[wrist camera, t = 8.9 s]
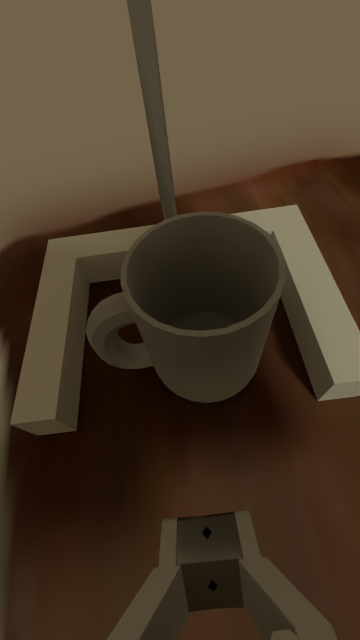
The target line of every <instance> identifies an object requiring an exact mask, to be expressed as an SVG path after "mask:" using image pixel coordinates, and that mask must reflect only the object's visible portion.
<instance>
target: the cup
mask: <svg viewBox="0 0 360 640" xmlns="http://www.w3.org/2000/svg"><path fill="white" fill-rule="evenodd" d="M285 280H286V264H285V259H284V257H283V254H282V252H281V249H280V247H279V245H278V244H277V243H276V242H275V240H274V239H273V238H272V237H271V236H270V234H269V233H268V232H266V231H265V230H263V229H262V228H261V227H259V226H258V225H256V224H255V223H253V222H251V221H248V220H246V219H243V218H241V217H239V216H235V215H230V214H226V213H221V212H195V213H188V214H181V215H178V216H175V217H172V218H169V219H166V220H164V221H162V222H160V223H158V224H156V225H155V226H153V227H151V228H149V229H148V230H147V231H145V232H144V233H143V234H142V235H141V236H140V237H139V238H137V239H136V240H135V242H134V243H133V244H132V246H131V247H130V249H129V250H128V251H127V253H126V255H125V258H124V261H123V264H122V267H121V287H122V290H123V292H120V293H117V294H114V295H112V296H110V297H108V298H106V299H104V300H102V301H100V302H99V304H98V305H97V306H96V307H95V308H94V309H93V310H92V312H91V314H90V316H89V319H88V322H87V327H86V334H87V338H88V341H89V343H90V344H91V346H92V348H93V349H94V351H95V352H96V353H97V355H98V356H99V357H100V358H101V359H102V360H103V361H105V362H106V363H108V364H109V365H112V366H115V367H118V368H124V369H139V368H146V367H150V366H154V368H155V370H156V372H157V374H158V376H159V377H160V379H161V380H162V381H163V383H164V384H165V385H166V387H167V388H169V389H170V390H171V391H173V392H174V393H175V394H176V395H178V396H180V397H183V398H185V399H187V400H190V401H194V402H202V403H210V402H218V401H222V400H225V399H227V398H230V397H232V396H234V395H236V394H237V393H238V392H240V391H241V390H242V389H243V388H245V387H246V386H247V384H248V383H249V382H250V380H251V379H252V377H253V376H254V374H255V372H256V370H257V367H258V364H259V361H260V358H261V355H262V352H263V348H264V345H265V342H266V339H267V336H268V333H269V330H270V327H271V324H272V321H273V317H274V314H275V311H276V308H277V305H278V302H279V299H280V296H281V293H282V289H283V286H284V283H285ZM133 323H136V325H137V327H138V329H139V332H140V334H141V337H142V339H143V342H144V343H140V344H131V343H127V342H125V341H124V340H122V339H121V338H120V337H119V335H118V330H119V329H120V328H122V327H124V326H126V325H130V324H133Z"/></svg>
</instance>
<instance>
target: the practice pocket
mask: <svg viewBox="0 0 360 640" xmlns="http://www.w3.org/2000/svg"><path fill="white" fill-rule="evenodd" d="M127 6H128V11H129V17H130V23H131V29H132V35H133V40H134V47H135V53H136V58H137V64H138V70H139V76H140V82H141V88H142V94H143V100H144V105H145V112H146V117H147V123H148V129H149V135H150V141H151V147H152V153H153V159H154V165H155V171H156V177H157V182H158V188H159V194H160V200H161V206H162V212H163V218H164V220H166V219H169V218H172V217H175V216H177V212H176V203H175V195H174V187H173V179H172V171H171V163H170V154H169V146H168V138H167V130H166V121H165V114H164V105H163V97H162V89H161V80H160V72H159V64H158V56H157V48H156V39H155V31H154V23H153V15H152V6H151V0H127ZM230 215H235V216H239V217H241V218H243V219H246V220H248V221H251V222H253V223H255V224H256V225H258V226H259V227H261V228H262V229H263V230H265V231H266V232H268V233H269V234H270V236H271V237H272V238H273V239H274V240H275V242H276V243H277V244H278V245H279V247H280V249H281V252H282V254H283V257H284V259H285V264H286V280H285V283H284V286H283V289H282V293H281V299H282V302H283V305H284V307H285V310H286V313H287V316H288V319H289V322H290V324H291V327H292V330H293V333H294V336H295V339H296V341H297V344H298V347H299V350H300V353H301V356H302V359H303V361H304V364H305V367H306V370H307V373H308V376H309V378H310V381H311V384H312V387H313V390H314V393H315V395H316V398H317V401H323V400H331V399H339V398H347V397H355V396H360V331H359V329H358V327H357V325H356V323H355V321H354V319H353V317H352V315H351V313H350V311H349V309H348V307H347V305H346V303H345V301H344V299H343V297H342V295H341V293H340V291H339V289H338V287H337V285H336V283H335V281H334V279H333V277H332V275H331V273H330V271H329V269H328V267H327V265H326V263H325V261H324V259H323V257H322V254H321V252H320V250H319V248H318V246H317V244H316V242H315V240H314V238H313V236H312V234H311V232H310V230H309V228H308V226H307V224H306V222H305V220H304V218H303V216H302V214H301V212H300V210H299V208H298V206H297V205H291V206H284V207H277V208H270V209H263V210H256V211H249V212H242V213H235V214H230ZM153 226H155V225H149V226H142V227H135V228H128V229H121V230H114V231H107V232H100V233H92V234H85V235H78V236H71V237H64V238H57V239H50V240H48V245H47V249H46V254H45V259H44V264H43V269H42V273H41V278H40V283H39V288H38V292H37V297H36V302H35V307H34V312H33V316H32V321H31V326H30V331H29V335H28V340H27V345H26V350H25V355H24V359H23V364H22V369H21V374H20V378H19V383H18V388H17V393H16V398H15V402H14V407H13V412H12V417H11V421H10V425H13V426H15V427H18V428H20V429H22V430H25V431H27V432H30V433H32V434H35V435H37V436H38V435H46V434H55V433H63V432H71V431H77V421H78V410H79V399H80V388H81V377H82V366H83V354H84V343H85V332H86V321H87V310H88V299H89V287H90V283H94V282H101V281H109V280H116V279H121V267H122V264H123V261H124V258H125V255H126V253H127V251H128V250H129V249H130V247H131V246H132V244H133V243H134V242H135V240H136V239H137V238H139V237H140V236H141V235H142V234H143V233H144V232H145V231H147V230H148V229H149V228H151V227H153Z"/></svg>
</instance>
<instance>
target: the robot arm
mask: <svg viewBox="0 0 360 640" xmlns="http://www.w3.org/2000/svg"><path fill="white" fill-rule="evenodd" d="M239 607H244V610H245V611H246V613H247V614H248V616H249V617H250V619H251V620H252V622H253V623H254V625H255V626H256V628H257V629H258V631H259V632H260V634H261V635H262V637H263V638H264V640H337V638H336V635H335V633H334V630H333V628H332V625H331V624H330V623H329V622H328V621H327V620H326V619H325V617H324V616H323V615H322V614H321V613H320V612H319V611H318V610H317V609H316V608H315V607H314V606H313V605H312V604H311V603H310V602H309V601H308V600H307V599H306V598H305V597H304V596H303V595H302V594H301V593H300V592H299V591H298V590H297V588H296V587H295V586H294V585H293V584H292V583H291V582H290V581H289V580H288V579H287V578H286V577H285V576H284V575H283V574H282V573H281V572H280V571H279V570H278V569H277V568H276V567H275V566H274V565H273V564H272V563H271V562H270V561H269V559H268V558H267V557H261V554H260V550H259V546H258V542H257V538H256V535H255V531H254V527H253V523H252V520H251V516H250V513H249V511H239V512H229V513H221V514H212V515H206V516H194V517H180V518H171V519H163V521H162V528H161V541H160V555H159V567H157V568H154V569H153V570H152V572H151V573H150V575H149V576H148V578H147V579H146V581H145V582H144V584H143V586H142V587H141V589H140V590H139V592H138V593H137V595H136V596H135V598H134V599H133V601H132V602H131V604H130V605H129V607H128V608H127V610H126V611H125V613H124V614H123V616H122V617H121V619H120V620H119V622H118V623H117V625H116V627H115V628H114V630H113V631H112V633H111V634H110V636H109V637H108V639H107V640H179V638H180V635H181V633H182V630H183V628H184V625H185V623H186V621H187V618H188V616H189V612H195V611H202V610H210V609H221V608H239Z"/></svg>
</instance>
